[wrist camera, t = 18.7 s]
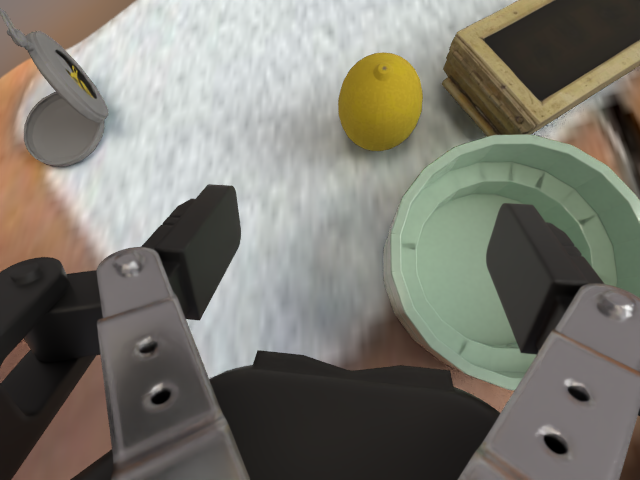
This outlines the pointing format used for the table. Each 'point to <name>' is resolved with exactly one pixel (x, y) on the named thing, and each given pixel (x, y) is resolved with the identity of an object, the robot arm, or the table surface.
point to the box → (540, 60)
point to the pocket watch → (60, 104)
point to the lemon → (380, 101)
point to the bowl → (474, 235)
